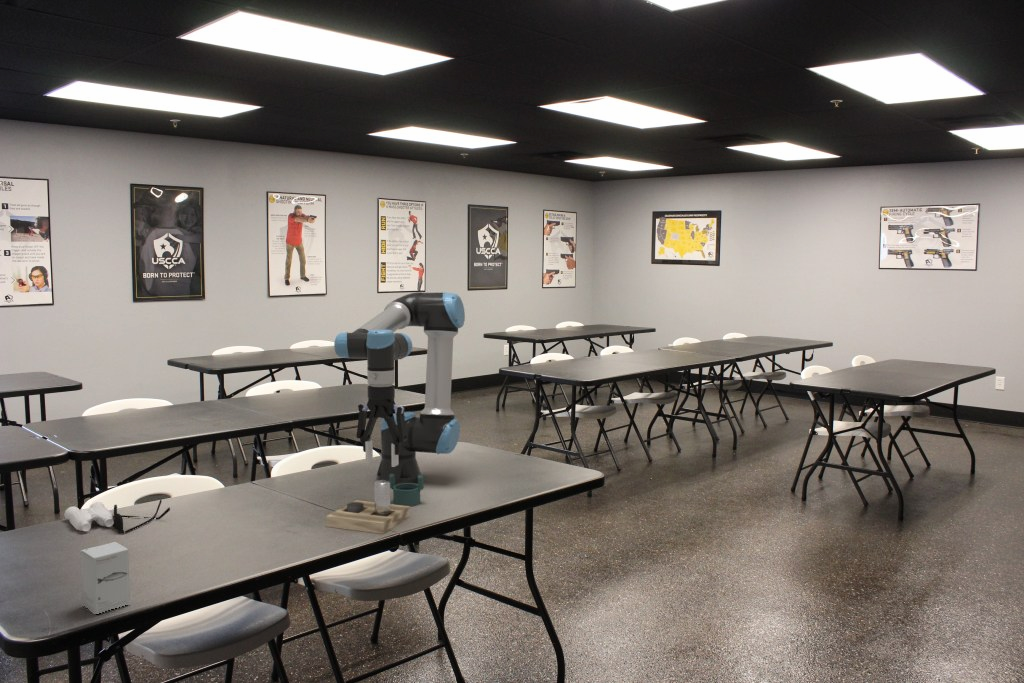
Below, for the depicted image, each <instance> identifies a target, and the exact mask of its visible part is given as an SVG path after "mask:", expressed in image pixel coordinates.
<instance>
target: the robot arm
mask: <svg viewBox="0 0 1024 683" xmlns="http://www.w3.org/2000/svg"><path fill="white" fill-rule="evenodd" d="M465 317H466V313H465V307H464V303H463V301H462V298H461V297H460V296H459V294H457V293H452V292H411V293H409V294H408V293H407V294H405V295H402V296H400V297H398V298H396V299H394V300H393V301H391V302H389V303H388V304H387V305H386V306H385V307H384V309H383V311H381V312H380V313H378V314H377V315H376V316H374V317H373V318H372V319H370V320H369V321H367V322H366V323H364V324H363V325H361V326H360V327H358V328H357V329H355V330H354V331H353V332H347V331H346V332H339V333H338V334H337V335H336V337H335V340H334V344H333V346H334V351H335V352H334V353H335V354H336V355H337V356H338V357H339V358H342V359H343V358H344V359H349V360H350V359H357V360H359V359H362V360H364V359H366V361H367V362H366V363H367V370H366V372H367V376H366V377H367V384H368V386H367V398H368V399H367V403H364V402H363V403H359V404H358V406H357V407H358V420H357V429H356V438H357V439H360V440H362V450H363V453H365V465H370V464H371V463H373V462H374V457H373V456H374V455H373V452H374V451H373V450H374V448H373V447H374V446H373V439H372V437H371V436H372V433H373V431H374V428H375V425H376V422H377V420H378V419H379V418H381V421H380V423H381V424H380V444H381V446H380V447H381V448H380V451H381V458H380V463H379V465H378V469H377V472H376V478H375V479H376V481H378V480H388V481H389V475H390V474H395V485H397V484H402V483H414V484H418V475H422V473H421V469H420V466H419V463H418V461H417V457H416V456H417V455H416V453H429V454H437V455H440V454H443V455H444V454H445V455H446V454H447V455H448V454H450V453H452V452H453V451H454V450H455V448H456V446H457V445H458V441H459V438H460V433H461V432H460V431H461V426H460V425H461V424H460V421H459V419H456V418H455V413H454V411H453V410H452V408H451V401H452V400H451V399H452V397H451V396H452V374H453V351H454V338H455V337H456V336H457V335H458V334H459V329H461V328H462V327H463V326H464V324H465V320H466V318H465ZM407 327H422V328H423V333H424V334H425V335H426V337H427V351H426V352H427V353H426V371H425V372H426V375H425V376H426V377H425V395H424V408H423V409H422V410H421V411H420V413H419V417H416V416H417V415H416V413H415V412H414V411H405V410H406V408H405V406H404V405H397V404H396V402H395V396H396V395H395V394H396V392H395V388H396V387H395V385H394V384H395V382H396V381H395V361H398V360H402V359H404V358H406V357H408V356H409V355H410V354H411V352H412V350H413V342H412V339H411V338H410V336H409V335H407V334H405V333H402V332H401V333H400V332H396V331H398V330H402V329H405V328H407ZM368 410H369V411H370V413H369V417H368V418H367V416H368ZM393 412H395V413H393ZM367 419H368V421H367Z"/></svg>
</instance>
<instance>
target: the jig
mask: <svg viewBox="0 0 1024 683" xmlns="http://www.w3.org/2000/svg"><path fill="white" fill-rule="evenodd" d="M410 517H411V507H410V506H402V505H394V504H393V503H390V515H389V516H387V517H384V516H376V515H375V501H366V500H357V499H355V500H353V501H352V502H349V503H346V505H344V506H342V507H341V508H339V509H337V510H335V511H333V512H331V513H329V514H328V515H326V527H328V528H334V529H335V528H336V529H344V530H350V531H357V532H365V533H366V532H367V533H373V534H379V535H380V534H381V535H384V534H385V533H387V532H388V531H390V530H391V529H393V528H395V527H396V526H397V525H399V524H400V523H402V522H404V521H405V520H407V519H408V518H410Z"/></svg>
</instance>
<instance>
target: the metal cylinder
mask: <svg viewBox="0 0 1024 683" xmlns="http://www.w3.org/2000/svg"><path fill="white" fill-rule="evenodd" d="M373 483H374V502H375V515H376V516H384V517H387V516H389V515H390V504H391V488H390V481H388V480H378V481H377V480H376V481H374V482H373Z"/></svg>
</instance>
